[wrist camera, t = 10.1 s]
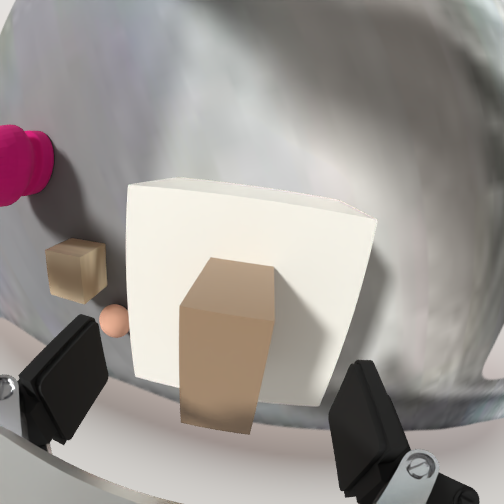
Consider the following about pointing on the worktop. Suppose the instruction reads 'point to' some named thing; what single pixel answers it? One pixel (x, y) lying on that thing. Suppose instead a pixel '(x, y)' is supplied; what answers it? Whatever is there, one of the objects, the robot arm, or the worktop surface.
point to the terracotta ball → (114, 320)
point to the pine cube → (76, 269)
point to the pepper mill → (23, 163)
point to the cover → (240, 293)
